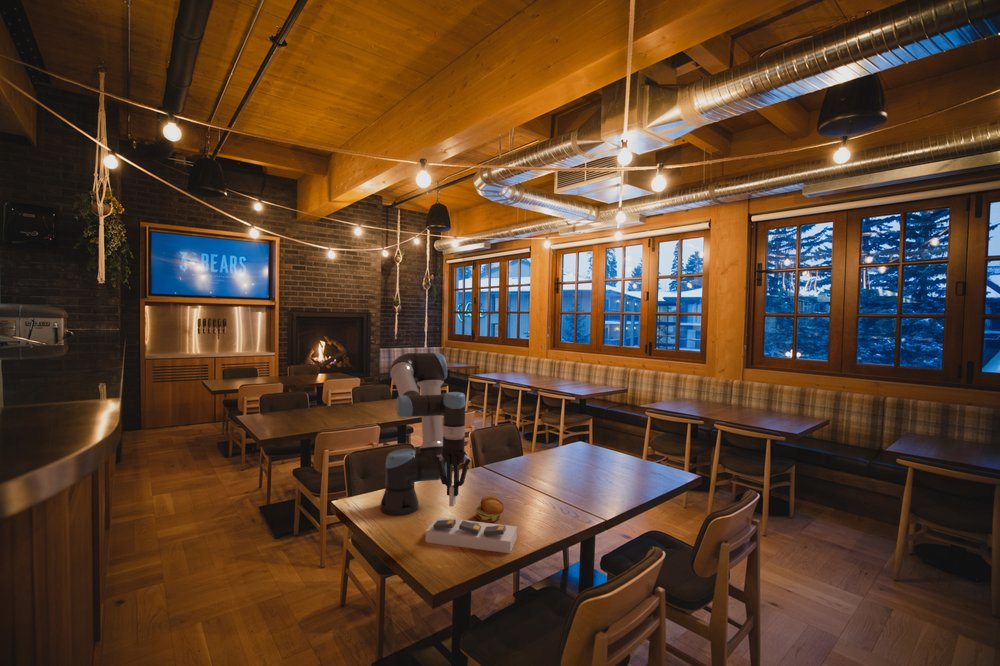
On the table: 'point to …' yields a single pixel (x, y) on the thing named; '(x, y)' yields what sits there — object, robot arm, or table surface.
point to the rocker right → (494, 530)
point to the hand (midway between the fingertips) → (452, 504)
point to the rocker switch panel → (472, 537)
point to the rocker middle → (470, 527)
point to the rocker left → (444, 524)
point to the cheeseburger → (489, 509)
